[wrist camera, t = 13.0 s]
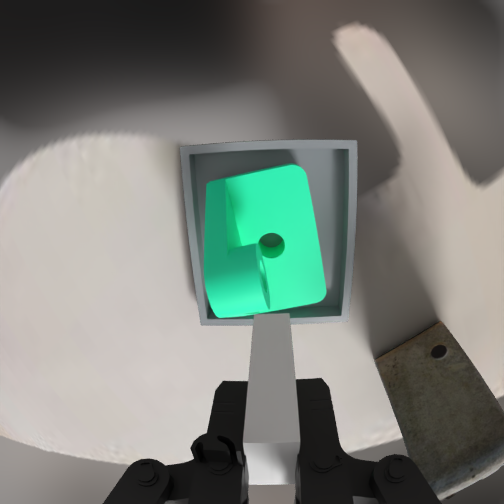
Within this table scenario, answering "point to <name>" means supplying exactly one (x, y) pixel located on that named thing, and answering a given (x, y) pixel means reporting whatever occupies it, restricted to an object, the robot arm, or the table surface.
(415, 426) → the vintage camera
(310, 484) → the robot arm
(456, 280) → the table surface
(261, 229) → the camera mount
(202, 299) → the tray
